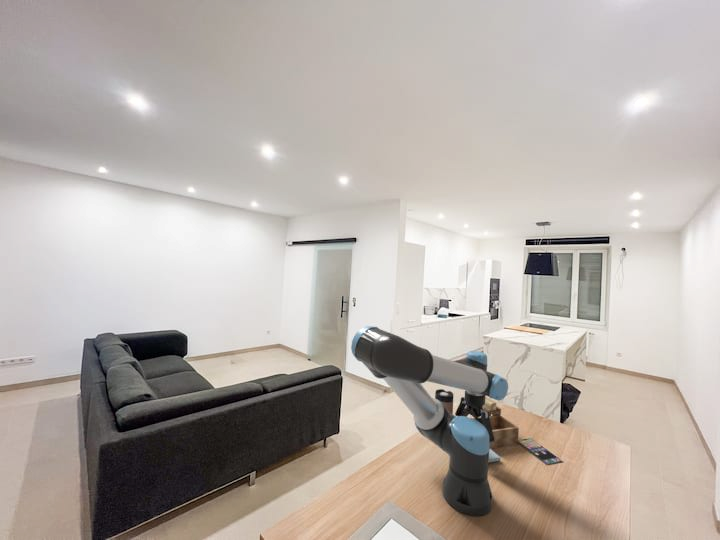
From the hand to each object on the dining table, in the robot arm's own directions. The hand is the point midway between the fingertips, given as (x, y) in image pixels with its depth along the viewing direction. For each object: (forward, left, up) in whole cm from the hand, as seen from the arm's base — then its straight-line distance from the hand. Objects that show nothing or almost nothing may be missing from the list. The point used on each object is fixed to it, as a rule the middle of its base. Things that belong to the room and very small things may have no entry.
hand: (472, 445), depth 117 cm
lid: (+1, 0, -3) cm, 4 cm away
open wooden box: (+17, +10, -4) cm, 20 cm away
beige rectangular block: (+23, +20, +4) cm, 31 cm away
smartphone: (+29, -4, -5) cm, 30 cm away
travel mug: (-5, +13, -4) cm, 15 cm away
